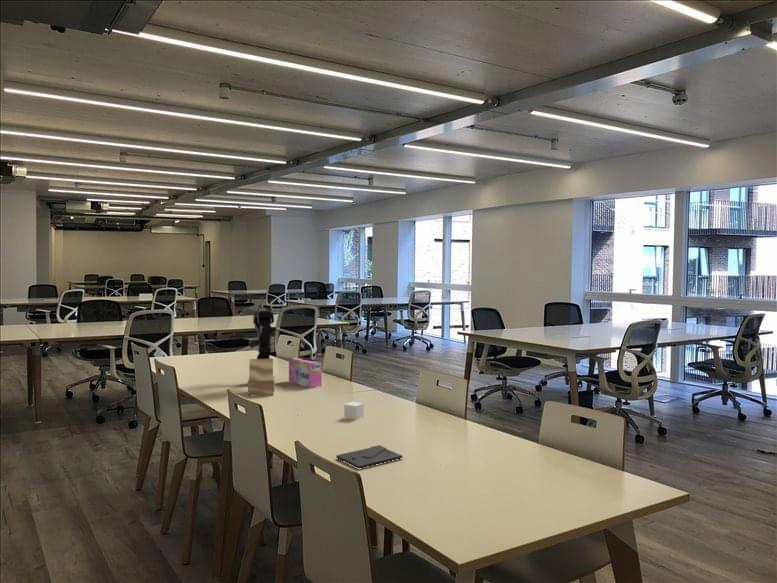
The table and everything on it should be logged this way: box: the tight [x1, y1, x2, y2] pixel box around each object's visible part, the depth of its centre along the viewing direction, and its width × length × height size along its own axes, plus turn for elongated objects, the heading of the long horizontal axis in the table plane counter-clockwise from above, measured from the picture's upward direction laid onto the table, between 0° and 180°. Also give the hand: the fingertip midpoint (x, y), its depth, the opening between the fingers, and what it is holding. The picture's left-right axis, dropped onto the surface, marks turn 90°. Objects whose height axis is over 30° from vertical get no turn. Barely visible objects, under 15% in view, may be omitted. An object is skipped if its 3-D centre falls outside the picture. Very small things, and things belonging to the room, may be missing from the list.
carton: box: [247, 375, 276, 397], centre depth 302 cm, size 12×13×8 cm
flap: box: [248, 358, 274, 381], centre depth 298 cm, size 12×12×1 cm
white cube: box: [343, 401, 365, 420], centre depth 254 cm, size 6×6×6 cm
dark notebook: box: [335, 444, 403, 468], centre depth 200 cm, size 13×2×18 cm
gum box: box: [288, 356, 323, 388], centre depth 326 cm, size 24×8×14 cm, turn 39°
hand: (265, 363), depth 316 cm, fingers open, 3 cm apart
